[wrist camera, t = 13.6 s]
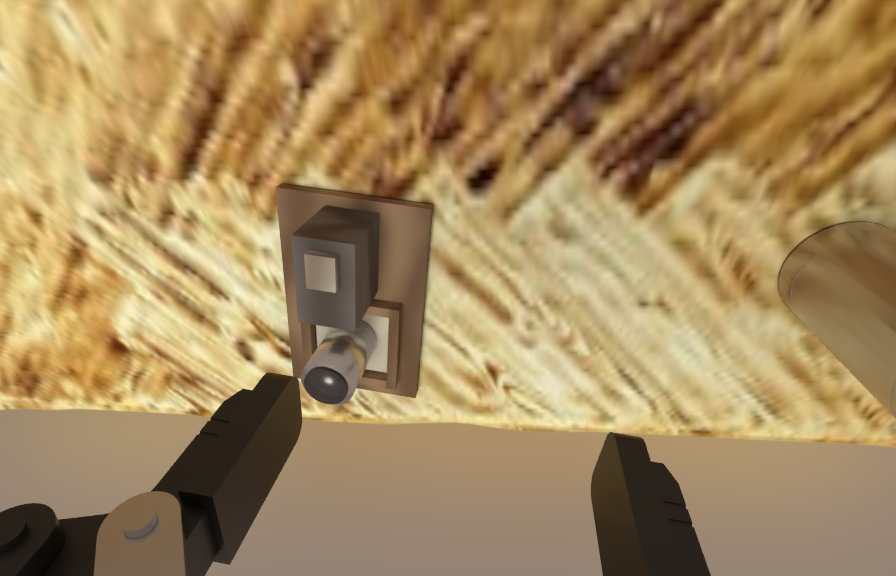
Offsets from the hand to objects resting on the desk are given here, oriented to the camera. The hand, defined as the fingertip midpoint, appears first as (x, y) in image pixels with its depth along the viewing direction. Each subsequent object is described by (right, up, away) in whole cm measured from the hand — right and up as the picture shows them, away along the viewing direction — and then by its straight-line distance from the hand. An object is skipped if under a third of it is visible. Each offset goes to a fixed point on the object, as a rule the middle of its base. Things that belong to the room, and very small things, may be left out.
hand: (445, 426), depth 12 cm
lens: (-10, -2, +35) cm, 37 cm away
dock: (-9, +3, +35) cm, 36 cm away
